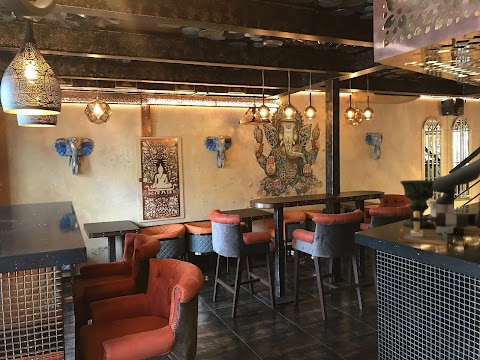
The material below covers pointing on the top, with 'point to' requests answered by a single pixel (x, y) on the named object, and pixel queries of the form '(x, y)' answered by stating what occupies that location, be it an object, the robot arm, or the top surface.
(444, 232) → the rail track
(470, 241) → the top surface
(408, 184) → the goblet
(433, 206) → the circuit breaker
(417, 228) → the carriage
